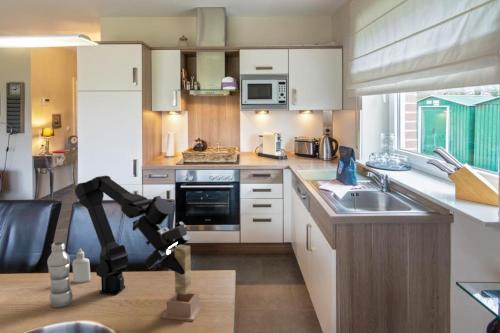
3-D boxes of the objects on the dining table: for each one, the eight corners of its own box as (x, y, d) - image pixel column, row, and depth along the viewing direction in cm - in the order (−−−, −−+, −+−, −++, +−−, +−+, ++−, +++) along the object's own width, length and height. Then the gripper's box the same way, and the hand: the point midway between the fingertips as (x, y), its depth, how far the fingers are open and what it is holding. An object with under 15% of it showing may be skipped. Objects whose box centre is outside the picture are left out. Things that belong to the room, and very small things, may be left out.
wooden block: (175, 293, 123) (174, 248, 121) (180, 288, 126) (180, 244, 125) (185, 294, 122) (184, 249, 120) (191, 290, 125) (190, 245, 123)
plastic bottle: (77, 302, 131) (74, 241, 128) (61, 311, 125) (57, 248, 122) (61, 298, 133) (58, 239, 130) (45, 308, 127) (41, 246, 124)
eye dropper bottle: (84, 284, 145) (83, 251, 143) (71, 282, 146) (69, 250, 144) (92, 279, 149) (90, 247, 147) (79, 277, 150) (77, 246, 149)
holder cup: (161, 317, 121) (160, 303, 120) (174, 302, 131) (173, 288, 130) (193, 321, 119) (193, 306, 118) (204, 305, 129) (203, 291, 128)
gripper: (153, 223, 114) (189, 266, 112) (184, 208, 131) (216, 245, 129) (129, 247, 117) (164, 289, 115) (163, 230, 135) (194, 266, 133)
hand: (186, 271), depth 123 cm, fingers closed on wooden block, 3 cm apart
